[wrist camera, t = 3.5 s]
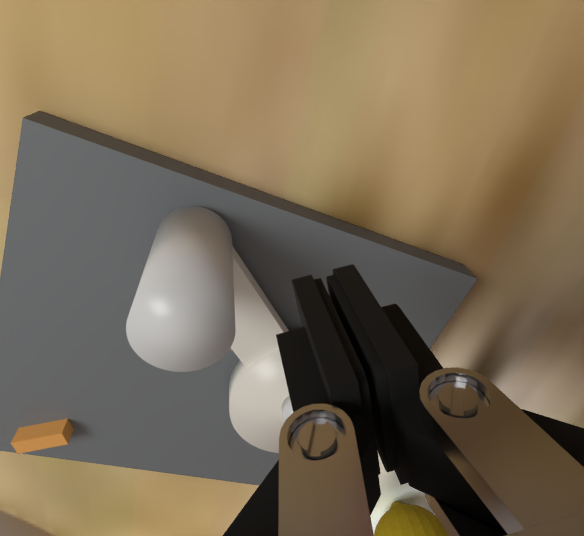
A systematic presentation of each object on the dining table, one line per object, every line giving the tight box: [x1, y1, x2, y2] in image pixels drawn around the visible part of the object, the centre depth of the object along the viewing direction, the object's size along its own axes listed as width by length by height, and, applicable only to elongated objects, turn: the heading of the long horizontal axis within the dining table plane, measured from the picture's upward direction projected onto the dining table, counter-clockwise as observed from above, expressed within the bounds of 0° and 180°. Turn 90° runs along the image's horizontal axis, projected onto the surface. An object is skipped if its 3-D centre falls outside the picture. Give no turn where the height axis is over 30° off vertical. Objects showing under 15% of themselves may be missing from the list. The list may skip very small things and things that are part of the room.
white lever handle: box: [126, 206, 293, 453], centre depth 17 cm, size 14×7×6 cm, turn 27°
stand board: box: [0, 111, 478, 485], centre depth 21 cm, size 20×17×2 cm
